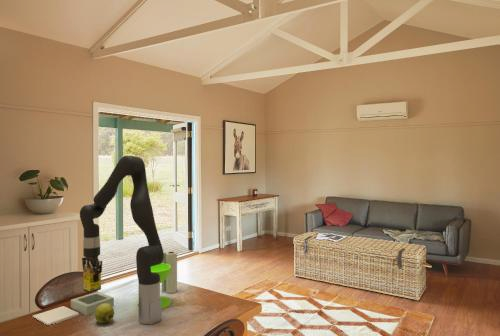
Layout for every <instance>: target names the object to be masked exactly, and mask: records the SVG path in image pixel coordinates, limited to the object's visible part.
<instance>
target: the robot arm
mask: <svg viewBox="0 0 500 336" xmlns="http://www.w3.org/2000/svg"><path fill="white" fill-rule="evenodd" d="M146 172H147V171H146V165H145V162H144V160H143V159H142V158H141V157H139V156H135V155H124V156H122V157H121V158H120V159H119V160H118V162H117V163H116V165H115V167H114V169H113V170H112V172H111V173H110V176H108V178H107V180H106V182H105V183H104V185H103V186H102V187H101V188H100V189H99V191H97V193H96V194H95V195H94V196H93V199H92V200H93V203H92V204H86V205H83V206H82V207H81V209H80V211H79V219H80V222H81V225H82V228H83V242H82V245H83V246H82V248H83V249H82V250H83V251H82V253H83V257H82V258H81V261H82V262H81V263H82V269H83V268H87V267H91V269H92V270H93V273H94V282H98V281H99V273H101V274H102V272H103V261H102V260H99V256H101V237H100V225H99V224H97V223H95V222H94V219H95V220H96V219H98V218H100V217H101V216H102V215H103V214H104V212H105V211H106V208H107V205H109V203H110V202H111V201H112V200H113V199H114V198H115V196H116V195H117V193H118V189H119V184H120V182H122V181H123V179H125V178H126V177H127V176H129V177H130V176H131V179H132V180H131V181H132V185H133V191H132V195H131V199H130V203H129V207H130V211H131V216H132V219H133V221H134V223H135V224H136V225H137V227H138V228H139V229H140V230H141V231H142V232H143V233H144V235H145V237H146V240H147V245H146V246H141V247H139V248H138V249H137V251H136V254H135V256H136V257H135V262H136V275H137V280H138V303H139V307H138V322H139V324H143V325H154V324H156V323H158V322H160V321H162V319H163V318H162V309H161V299H160V296H161V283H160V275H159V274H158V273H154V272H151V266H155V265H159V264H161V263H162V262H163V259H164V253H165V252H164V248H163V245H162V243H161V239H160V235H159V233H158V230H157V229H158V228H157V225H156V222H155V217H154V210H153V206H152V201H151V197H150V191H149V189H148V187H149V186H148V182H147V173H146ZM94 267H95V268H94ZM95 269H96V272H95ZM99 269H100V270H99Z"/></svg>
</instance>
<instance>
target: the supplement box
mask: <svg viewBox="0 0 500 336" xmlns="http://www.w3.org/2000/svg"><path fill="white" fill-rule="evenodd" d="M94 268H95V267H94ZM99 270H100V269H99ZM82 271H83V273H82V274H83V277H82V278H83V291H84V292H87V293H89V294H92V293H95V292H98V291H101V290H102V272H101V273H99V281H98V282H94V273H93V270H92V269H91V267H87V268H83V267H82ZM95 272H96V269H95Z"/></svg>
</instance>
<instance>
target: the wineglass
mask: <svg viewBox="0 0 500 336" xmlns="http://www.w3.org/2000/svg"><path fill="white" fill-rule="evenodd" d="M170 269H171V266H170V265H168V264H164V263H161V264H159V265H155V266H151V272H154V273H158V274H159V275H160V284H162V282H163V281H164V280H165V279H166V278H167V277H168V275H169V273H170ZM160 299H161V310H162V309H164V308H167V307H169V306H170V305H171V303H172V301H171V300H170V298H169V297H166V296H162V295H160ZM137 308H139V302H138V303H137Z"/></svg>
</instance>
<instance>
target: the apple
mask: <svg viewBox="0 0 500 336" xmlns="http://www.w3.org/2000/svg"><path fill="white" fill-rule="evenodd" d="M114 316H115V309H114V306H111V305H110V304H108V303H104V304H101V305H99V306H98V307H97V309H96V311H95V313H94V318H95V320H96V321H97V323H101V324H106V323H109V322H110V321H111V320H113V318H114Z"/></svg>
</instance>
